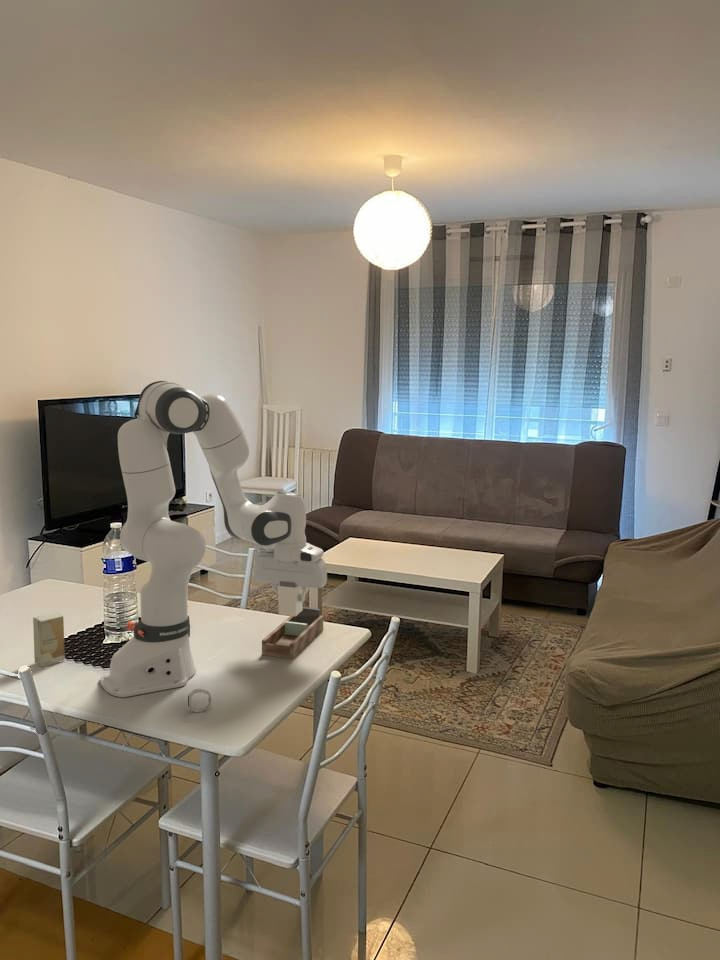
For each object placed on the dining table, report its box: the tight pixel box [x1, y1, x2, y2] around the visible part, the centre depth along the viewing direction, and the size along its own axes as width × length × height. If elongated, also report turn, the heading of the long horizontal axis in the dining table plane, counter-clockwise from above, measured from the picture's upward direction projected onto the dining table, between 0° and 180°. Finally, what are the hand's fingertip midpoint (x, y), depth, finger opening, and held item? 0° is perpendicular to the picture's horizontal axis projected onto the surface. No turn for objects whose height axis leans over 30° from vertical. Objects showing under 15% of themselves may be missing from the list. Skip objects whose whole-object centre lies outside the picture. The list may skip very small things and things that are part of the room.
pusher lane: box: [261, 606, 324, 660], centre depth 199 cm, size 23×9×6 cm, turn 163°
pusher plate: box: [285, 621, 307, 636], centre depth 201 cm, size 1×6×4 cm, turn 73°
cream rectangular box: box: [277, 581, 304, 617], centre depth 195 cm, size 5×5×9 cm
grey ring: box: [187, 688, 212, 714], centre depth 159 cm, size 3×5×5 cm, turn 108°
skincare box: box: [32, 611, 66, 668], centre depth 183 cm, size 6×4×12 cm
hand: (290, 599), depth 195 cm, fingers closed on cream rectangular box, 5 cm apart
